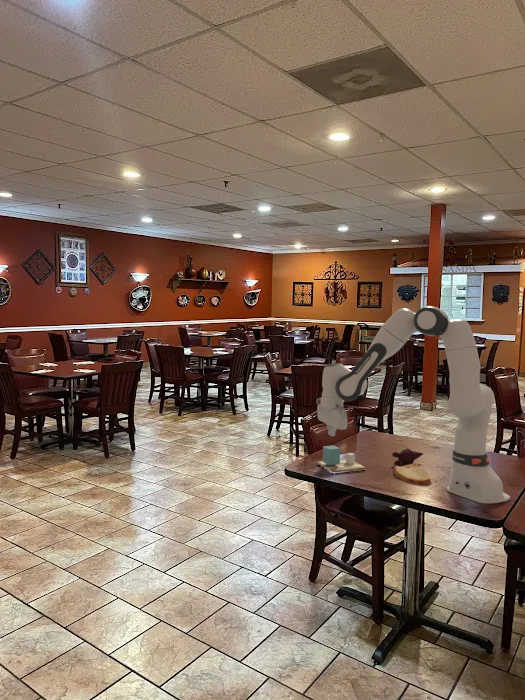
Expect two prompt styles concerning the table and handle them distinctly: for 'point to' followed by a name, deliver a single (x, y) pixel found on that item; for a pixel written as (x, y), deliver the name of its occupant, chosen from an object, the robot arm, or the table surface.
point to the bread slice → (412, 474)
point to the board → (343, 466)
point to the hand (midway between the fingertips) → (331, 435)
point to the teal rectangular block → (331, 455)
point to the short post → (350, 458)
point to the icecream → (406, 456)
